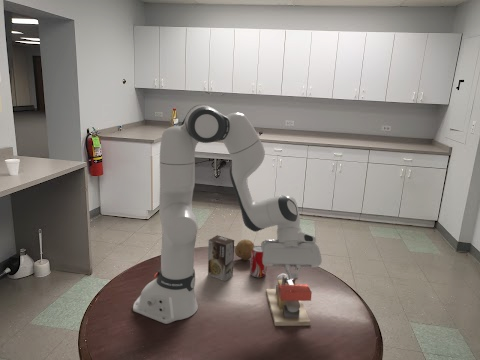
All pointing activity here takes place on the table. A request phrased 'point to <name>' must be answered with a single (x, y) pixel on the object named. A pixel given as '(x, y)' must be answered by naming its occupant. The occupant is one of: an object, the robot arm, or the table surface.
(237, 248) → the natural sponge
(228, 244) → the coffee box
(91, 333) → the table surface
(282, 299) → the lever
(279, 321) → the valve
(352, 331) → the table surface
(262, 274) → the soda can
